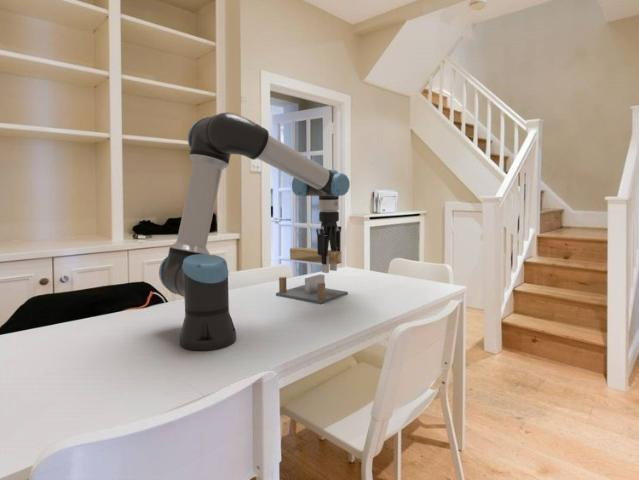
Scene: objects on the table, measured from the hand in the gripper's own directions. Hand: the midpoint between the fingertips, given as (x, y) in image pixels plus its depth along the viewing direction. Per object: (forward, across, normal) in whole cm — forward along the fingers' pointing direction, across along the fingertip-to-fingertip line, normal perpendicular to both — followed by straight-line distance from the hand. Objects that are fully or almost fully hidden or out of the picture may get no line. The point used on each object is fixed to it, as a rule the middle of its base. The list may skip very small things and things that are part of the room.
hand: (329, 271), depth 163 cm
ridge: (+10, 0, +7) cm, 12 cm away
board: (+10, -2, +7) cm, 12 cm away
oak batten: (-3, 0, +7) cm, 8 cm away
